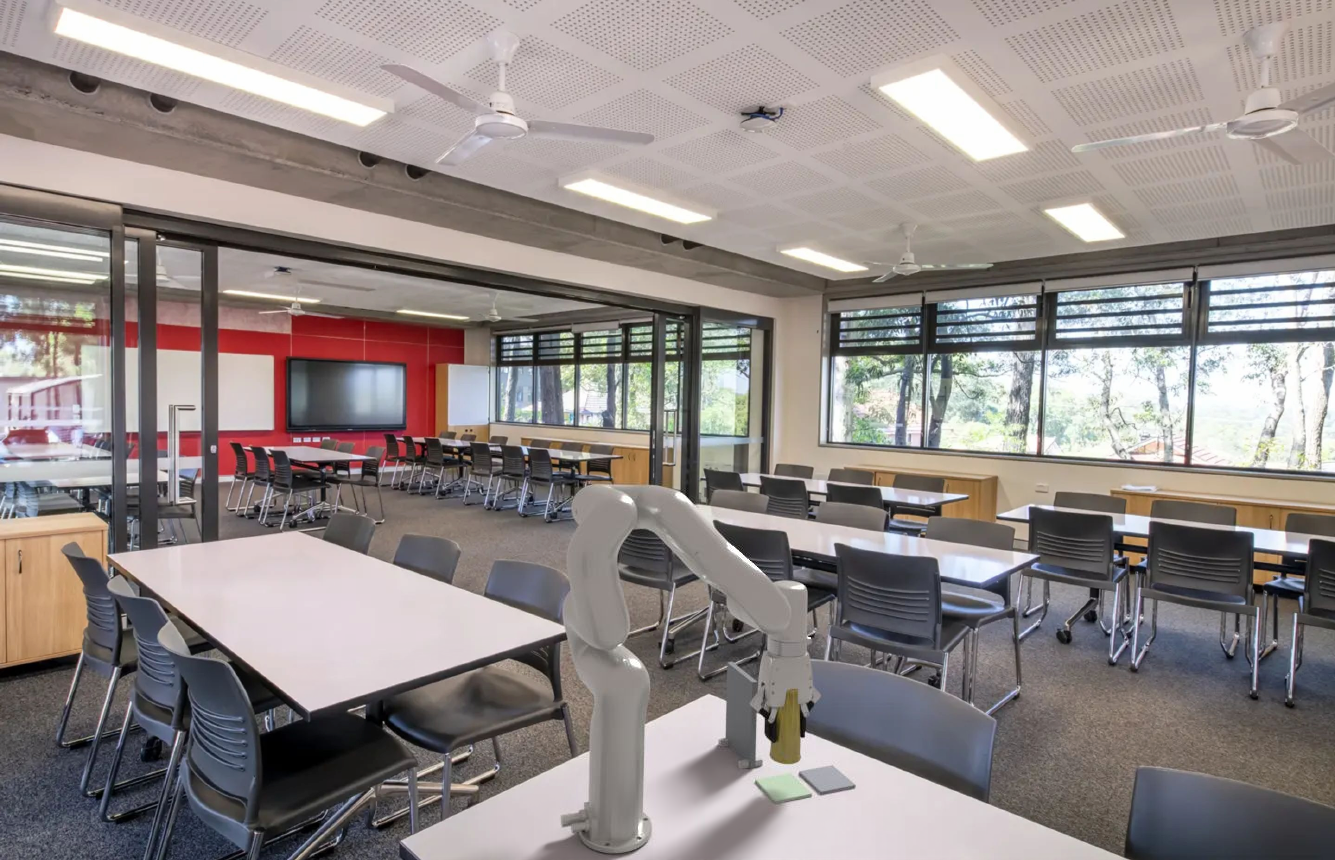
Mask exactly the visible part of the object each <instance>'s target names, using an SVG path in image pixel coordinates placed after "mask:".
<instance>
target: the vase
mask: <svg viewBox="0 0 1335 860" xmlns="http://www.w3.org/2000/svg"><path fill="white" fill-rule="evenodd" d="M798 692H799V690H798V689H794V690H787V691H786V698H785V704H784V706H783V707H779V708H778V710H777V713H776V716H775V719H774V721H775V722H776V723H777V737H776V743H772V742H771V741H770V749H769V757H770V760H772V761H774V762H776V763H778V764H783V765H793V764H797V763H799V762H800V761H801V759H802V755H801V745H802V744H801V739H802V738H801V737H800V704H798Z"/></svg>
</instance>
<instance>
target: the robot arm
mask: <svg viewBox="0 0 1335 860" xmlns="http://www.w3.org/2000/svg"><path fill="white" fill-rule="evenodd" d="M571 515H572V517H573V519H574V521H575V522H576V524H577V525H578V526H577V527H576V529H575V531H574V533H573V534H572V537H571V539H570V542H569V544H568V547H567V550H566V560H565V561H566V562H565V563H566V565H565V566H566V570H567V572H566V573H567V577H568V581H569V588H570V590H569V591H568V592H567V593H566V595H565V598H564V601H563V603H562V616H561V617H562V621H563V626H564V631H565V635H566V638H567V642H568V646H569V649H570V650H569V651H570V655H571V657H572V662H573V665H574V668H575V670H576V673H577V675H578V677H579V679H580V680H581V681H582V683H583V684H584V685H585V686H586V688H588V690H589V691H590V693H591V694H592V696H593V700H594V701H593V702H594V704H593V709H592V710H593V712H592V714H591V718H590V725H589V755H588V756H589V760H588V761H589V762H588V763H589V765H588V766H589V767H588V768H589V769H588V801H585V802H583V809H579V810H578V812H574V813H572V812H570V813H566V814H565V813H564V814H560V827H561V828H568V827H570V830H571V834H572V833H573V834H574V833H578V834H579V838H580V840H581V842H582V843H583V844H584V845H585V846H587V847H588V848H589V849H592V850H594V851H595V852H600V853H605V854H624V853H629V852H631V851H634V850H637V849H639V848H641V847H642V846H643V845H645V844H646V843H647V842H648V841H649V839H650V838H651V835H652V829H653V828H652V827H653V825H652V821H651V819H650V818H649V816H648V815H647V813H645V812H644V781H645V779H644V778H645V777H644V776H645V775H644V774H645V735H646V734H645V732H646V728H645V727H646V716H647V709H648V703H649V698H650V693H651V680H650V676H649V675H650V674H649V672H648V670H647V668H646V667H645V665H644V663H643V662H642V661H641V660H640V659H639V658H638V656H636V655H635V654H634V653H633V652H632V651H631V650H629V649H628V648H626V647H625V646H624V645H623V644H624V643H625V641H626V640H627V638H628V637H629V633H630V629H631V620H630V619H631V617H630V614H629V610H628V606H627V602H626V598H625V595H624V590H623V587H622V582H621V578H620V573H619V572H620V571H619V566H618V554H619V551H620V549H621V547H622V545H623V543H624V542H625V541H626V539H627V538H628V537H629V535H630V534H631V532H632V531H633V530H648V531H650V532H652V533H654V534H655V535H656V536H658V537H659V539H661V541H662V542H664V544H665V545H666V546H667V547H668V548H669V549H670V550H671V551H672V552H673V553H674V554H675V555H676V556H677V557H678V558H679V559H680V560H681V562H682V563H683V564H684V565H685V567H687V568H688V569H689V571H691V572H692V573H693V574H694V575H696V577H698V578H699V579H700V580H702V581H703V582H704V583H706V584H708V585H709V586H712V588H714V589H716V590H717V591H719V592H721V593H722V594H724V595H725V596H726V600H725V602H726V607H727V610H728V611H729V613H730V615H732V617H734V618H735V619H737V620H739V621H741V622H743V623H744V624H746V625H748V626H750V627H752V628H754V629H756V630H757V631H760V632H761V633H763V634H765V635H767V648H766V649H767V650H763V653H762V657H761V661H760V666H759V673H758V681H757V694H756V695H755V696H754V698H753V699H752V700H751V702H750V705H751V706H752V707H753V708H754V709H755V710H756V711H757V713H759V714H760V715H761V716H762V717H763V718H764V726H763V727H764V729H763V730H764V731H763V732H764V736H765V737H766V739H767V740H768V741H770V743H771V742H772V743H776V737H777V723H776V722H775V721H774V719H775V716H776V713H777V710H778V708H779V707H783V706H784V704H785V698H786V691H787V690H794V689H798V690H799V692H798V704H800V739H804V738H805V737H806V731H807V718H808V717H809V716H810V712H811V710H812V709H813V708H814V707H815V704H816V703H817V702H818V700H819V699H821V697H822V695H821V693H820V692H819V690H817V689H816V687H815V686H814V684H813V671H812V670H813V669H812V663H811V662H812V661H811V657H810V654H809V652H808V646H809V645H811V644H812V641H813V640H812V638H811V637H808V636H807V635H808V633H807V631H808V595H809V594H808V589H807V586H806V585H804V584H803V583H801V582H799V581H795V580H777V581H774V582H773V581H772V580H771V578H769V577H768V576H767V575H766V573H764V572H763V571H762V569H760V568H759V567H757V566H756V565H755V564H754V563H753V562H752V561H750V560H749V559H748V558H747V557H746V556H745V555H743V553H742V552H740V551H739V550H738V549H737V548H736V547H735V546H734V545H732V544H731V543H730V542H729V541H728V540H726V538H725V537H724V536H723V535H722V534H721V533H720V532H719V531H718V529H717V528H716V527H714V525H713V524H712V523H711V522H710V521H709V520H708V519H707V517H706V516H705V515H704V514H703V513H702V512H701V511H700V509H698V507H696V505H695V504H694V503H693V502H692V501H691V500H690V499H689V497H687V496H686V495H685V494H684V493H683V492H680V491H679V490H676V489H675V488H674V489H673V488H669V487H665V486H662V485H661V486H660V485H656V484H614V483H613V484H609V483H607V484H606V483H593V484H592V483H591V484H589V485H586V486H584V487H582V488H581V489H579V490H578V491H577V493H576V494H575V495H574V497H573V499H572V503H571ZM763 701H765V704H764V707H763V706H762V705H761V704H762V702H763Z"/></svg>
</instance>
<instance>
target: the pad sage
mask: <svg viewBox="0 0 1335 860" xmlns="http://www.w3.org/2000/svg"><path fill="white" fill-rule="evenodd" d="M754 782H755V783H756V784H757V785H758V787H759V788H760V789H761V790H762V791H763V792H764V793H765V794H766V795H767V796H768V797H769V799H771V801H773V803H774V804H780V803H783V802H789V801H794V800H800V799H805V798H808V797H809V798H811V797H812V796H813V793H812V792H811V791H810V790H809V789H808V788H807V787H806V786H805V785H804V784H802V783H801V781H799V779H797V777H795V775H793V774H792V773H791V772H789V773H784V774H777V775H771V776H766V777H761V778H757V779H755V781H754Z"/></svg>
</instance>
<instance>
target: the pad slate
mask: <svg viewBox="0 0 1335 860" xmlns="http://www.w3.org/2000/svg"><path fill="white" fill-rule="evenodd" d="M798 774H799V775H800V777H802V778H803V779H804V780H805V781H806V782H807V783H808V784H809V785H810V786H811V787H812V788H813V789H814V790H816V792H817V793H819V794H820V795H824V794H825V795H826V794H829V793H834V792H835V793H836V792H840V791H845V790H848V789H855V788H856V786H857V785H856V783H854V782H853V781H852V780H851V779H850V778H849V777H847V776H846V775H845V774H844V773H842V772H841V771H840V770H839V769H838V768H837V767H835V766H834V765H831V764H830V765H827V766H821V767H816V768H810V769H805V770H799V771H798Z"/></svg>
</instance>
